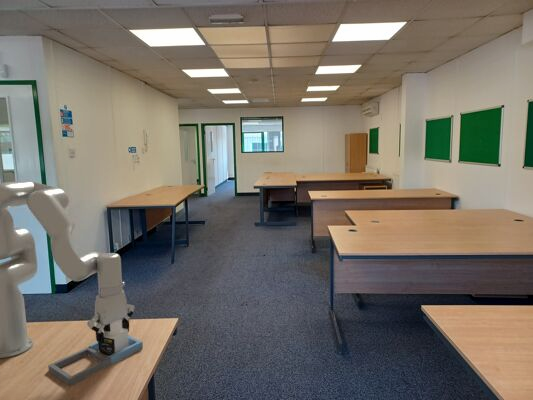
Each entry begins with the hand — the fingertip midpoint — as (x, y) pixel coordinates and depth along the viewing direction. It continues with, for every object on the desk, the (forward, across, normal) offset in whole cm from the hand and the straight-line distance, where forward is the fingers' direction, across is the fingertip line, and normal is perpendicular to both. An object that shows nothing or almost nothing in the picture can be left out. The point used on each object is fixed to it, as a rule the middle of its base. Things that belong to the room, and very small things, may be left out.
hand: (113, 336), depth 127 cm
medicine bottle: (+6, 0, 0) cm, 6 cm away
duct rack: (+5, +6, 0) cm, 8 cm away
